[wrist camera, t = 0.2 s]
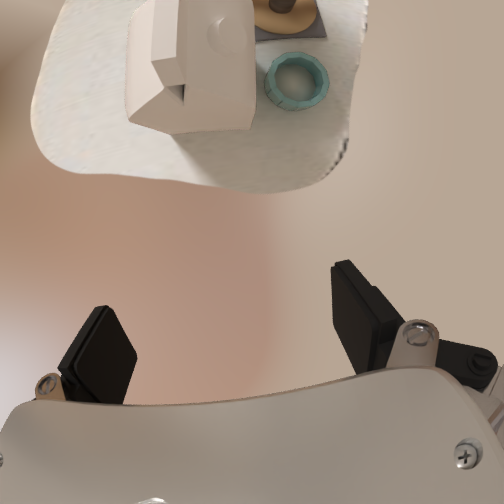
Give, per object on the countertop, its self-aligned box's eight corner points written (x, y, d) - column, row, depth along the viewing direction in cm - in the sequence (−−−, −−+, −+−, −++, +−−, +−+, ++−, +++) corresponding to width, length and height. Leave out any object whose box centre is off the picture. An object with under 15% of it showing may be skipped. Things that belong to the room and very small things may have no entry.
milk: (169, 59, 30) (88, -26, 7) (248, 53, 31) (270, -56, 7) (169, 134, 35) (69, 132, 11) (249, 129, 36) (279, 107, 12)
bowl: (259, 64, 32) (263, 55, 28) (312, 59, 32) (321, 51, 28) (270, 113, 35) (275, 110, 31) (323, 107, 35) (333, 104, 31)
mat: (233, -14, 25) (233, -16, 25) (307, -18, 25) (307, -19, 25) (247, 42, 30) (247, 41, 30) (325, 37, 30) (326, 36, 30)
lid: (237, -14, 25) (237, -28, 21) (305, -17, 25) (312, -30, 21) (250, 38, 30) (252, 26, 25) (322, 33, 29) (332, 23, 25)
